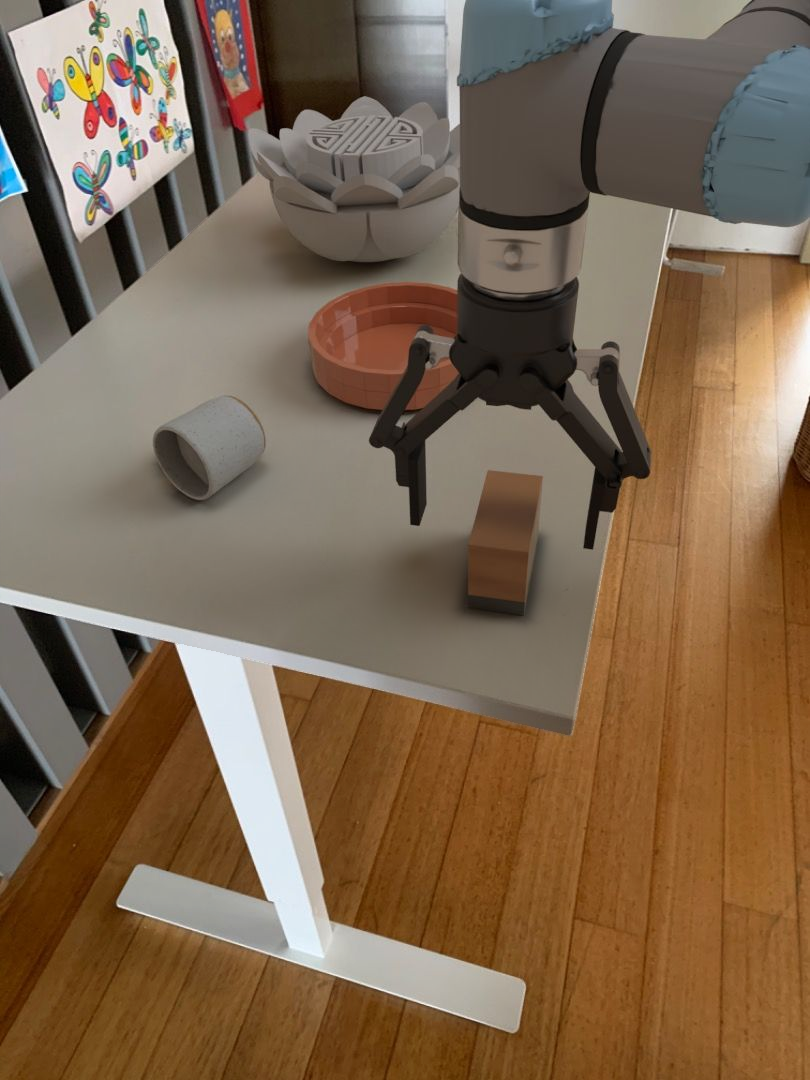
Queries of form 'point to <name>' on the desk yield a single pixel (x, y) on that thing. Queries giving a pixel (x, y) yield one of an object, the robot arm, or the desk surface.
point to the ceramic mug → (209, 446)
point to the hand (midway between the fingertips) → (502, 526)
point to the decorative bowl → (363, 180)
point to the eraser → (504, 542)
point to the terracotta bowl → (380, 341)
